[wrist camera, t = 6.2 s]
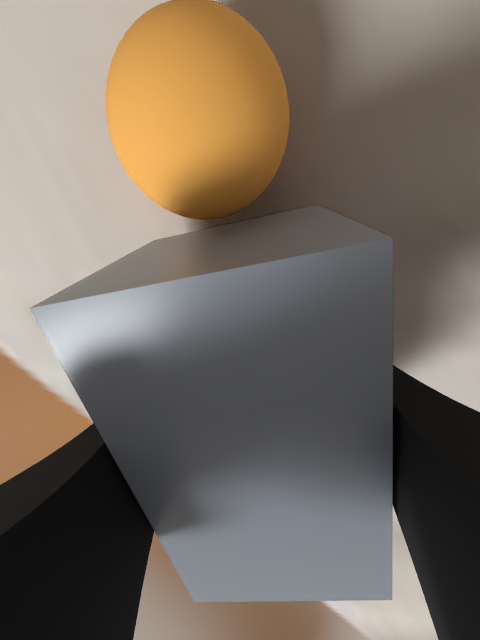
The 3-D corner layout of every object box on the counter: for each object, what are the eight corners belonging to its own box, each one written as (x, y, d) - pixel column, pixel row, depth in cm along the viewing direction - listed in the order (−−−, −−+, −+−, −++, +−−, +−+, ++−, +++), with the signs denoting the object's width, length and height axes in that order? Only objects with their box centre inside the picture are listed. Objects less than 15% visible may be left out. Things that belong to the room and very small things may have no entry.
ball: (350, 159, 7) (306, 17, 8) (134, 58, 4) (120, -128, 6) (242, 257, 11) (224, 151, 12) (97, 235, 8) (93, 104, 10)
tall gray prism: (339, 429, 14) (392, 600, 8) (220, 441, 15) (194, 602, 9) (317, 204, 10) (393, 237, 4) (153, 240, 11) (29, 308, 5)
